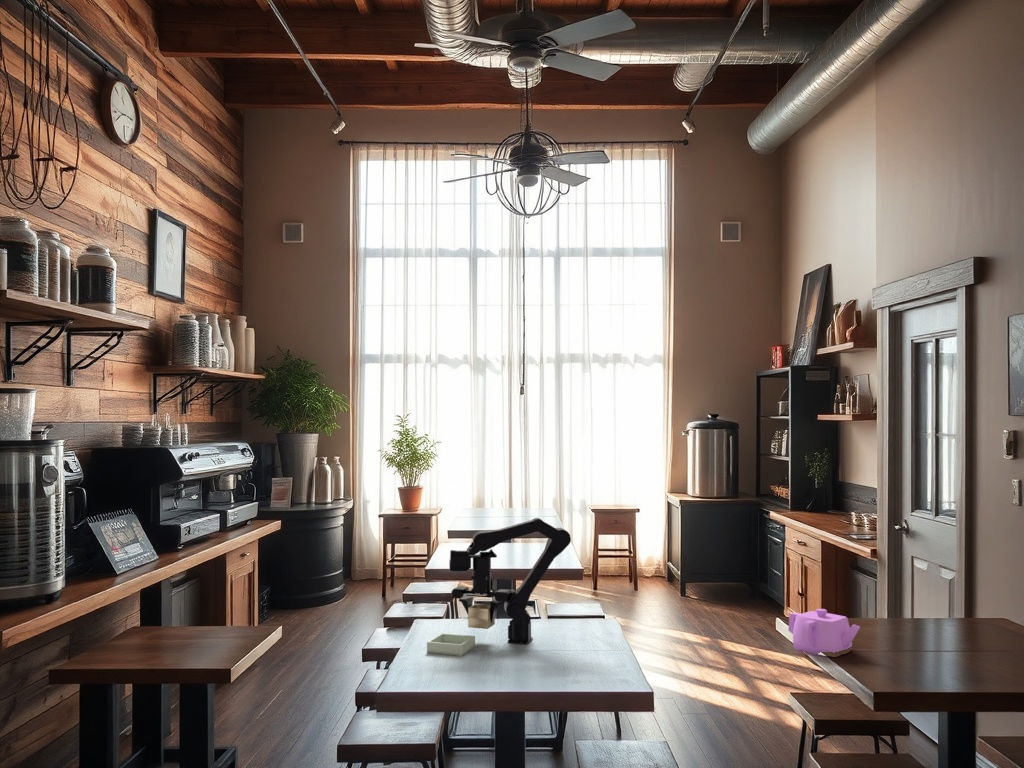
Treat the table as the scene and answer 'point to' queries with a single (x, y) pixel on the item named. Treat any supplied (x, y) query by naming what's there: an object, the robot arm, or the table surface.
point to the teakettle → (821, 632)
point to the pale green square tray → (451, 644)
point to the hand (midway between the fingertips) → (481, 621)
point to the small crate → (479, 616)
